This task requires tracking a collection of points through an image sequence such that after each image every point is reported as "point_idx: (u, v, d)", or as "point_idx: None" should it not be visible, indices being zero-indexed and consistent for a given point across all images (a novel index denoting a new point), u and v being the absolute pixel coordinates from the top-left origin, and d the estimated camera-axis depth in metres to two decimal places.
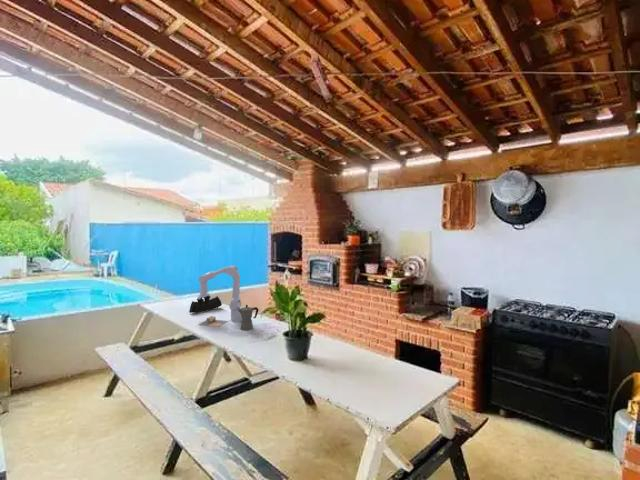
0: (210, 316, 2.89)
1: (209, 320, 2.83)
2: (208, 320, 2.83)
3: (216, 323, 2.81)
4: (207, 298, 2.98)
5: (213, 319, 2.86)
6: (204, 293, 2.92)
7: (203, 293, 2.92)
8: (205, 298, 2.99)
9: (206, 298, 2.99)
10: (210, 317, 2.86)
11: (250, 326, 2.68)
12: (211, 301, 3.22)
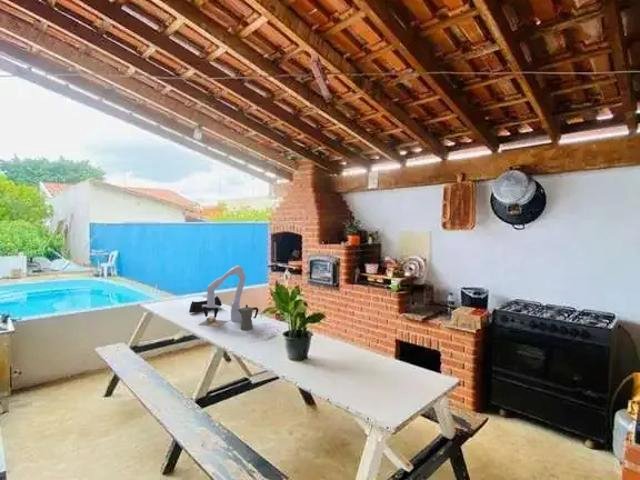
0: (210, 316, 2.89)
1: (209, 320, 2.83)
2: (208, 320, 2.83)
3: (216, 323, 2.81)
4: None
5: (213, 319, 2.86)
6: (207, 303, 2.84)
7: (207, 303, 2.85)
8: None
9: None
10: (210, 317, 2.86)
11: (250, 326, 2.68)
12: None
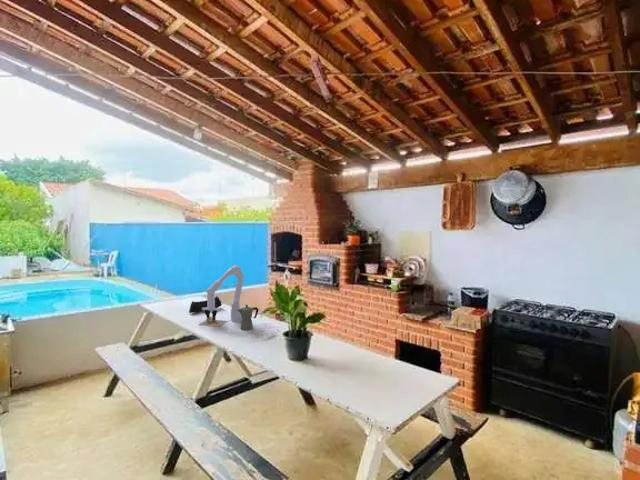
0: (210, 316, 2.89)
1: (209, 320, 2.83)
2: (208, 320, 2.83)
3: (216, 323, 2.81)
4: None
5: None
6: (207, 306, 2.84)
7: (207, 306, 2.85)
8: None
9: None
10: (210, 317, 2.86)
11: (250, 326, 2.68)
12: None
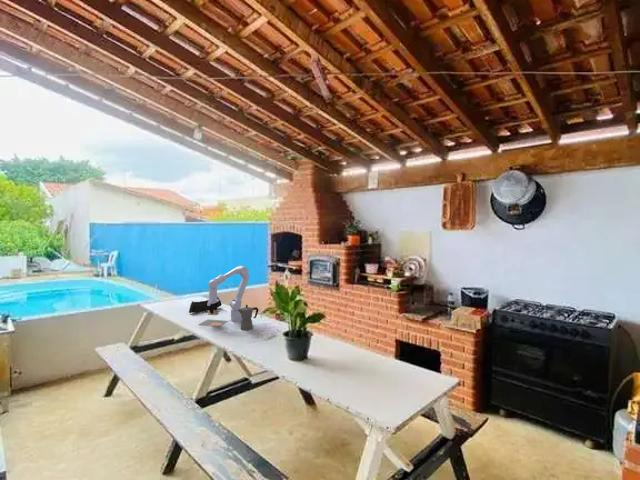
0: (208, 311, 2.80)
1: (217, 312, 2.81)
2: (217, 312, 2.80)
3: (216, 323, 2.81)
4: (215, 305, 2.83)
5: None
6: (214, 299, 2.78)
7: (213, 299, 2.78)
8: (213, 305, 2.83)
9: (214, 305, 2.83)
10: None
11: (250, 326, 2.68)
12: None
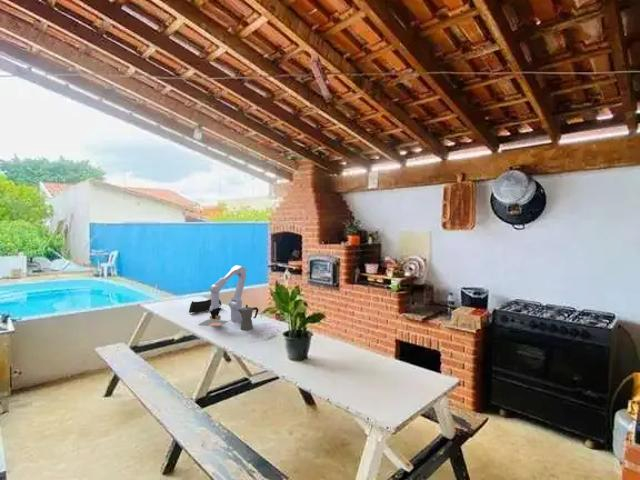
0: (210, 316, 2.76)
1: (219, 317, 2.77)
2: (219, 318, 2.76)
3: (216, 323, 2.81)
4: (217, 310, 2.79)
5: None
6: (216, 304, 2.74)
7: (215, 304, 2.74)
8: (215, 310, 2.79)
9: (216, 310, 2.79)
10: None
11: (250, 326, 2.68)
12: None
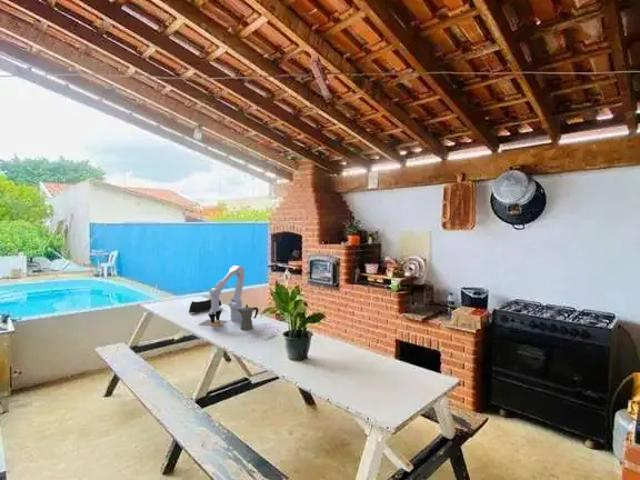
0: (210, 321, 2.76)
1: (219, 322, 2.78)
2: (219, 322, 2.77)
3: None
4: (218, 312, 2.81)
5: None
6: (216, 307, 2.75)
7: (215, 307, 2.74)
8: (216, 312, 2.81)
9: (217, 312, 2.81)
10: None
11: (250, 326, 2.68)
12: None
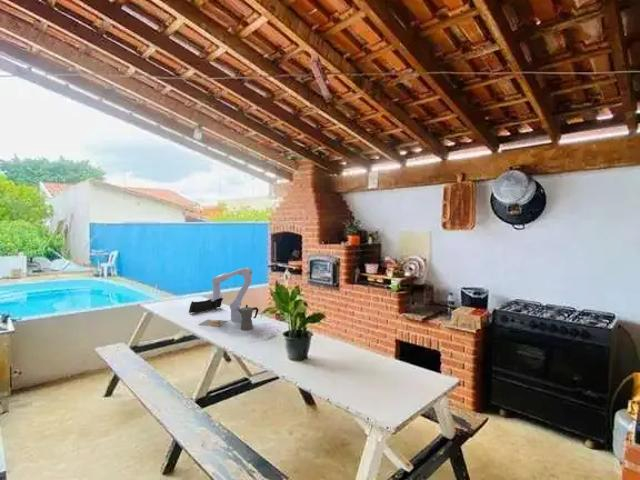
0: (210, 321, 2.76)
1: (219, 322, 2.78)
2: (219, 322, 2.77)
3: None
4: (220, 300, 2.95)
5: None
6: (217, 295, 2.89)
7: (216, 295, 2.88)
8: (217, 300, 2.95)
9: (218, 300, 2.95)
10: (214, 320, 2.77)
11: (250, 326, 2.68)
12: None
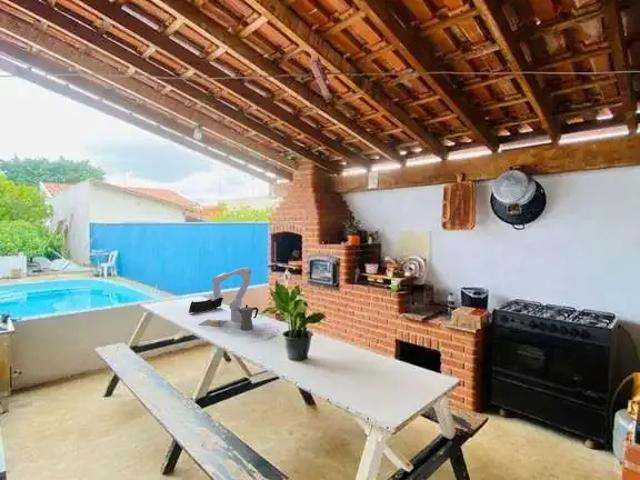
0: (210, 321, 2.76)
1: (219, 322, 2.78)
2: (219, 322, 2.77)
3: None
4: (220, 299, 2.97)
5: None
6: (218, 294, 2.91)
7: (217, 294, 2.90)
8: (218, 299, 2.97)
9: (219, 299, 2.97)
10: (214, 320, 2.77)
11: (250, 326, 2.68)
12: None
